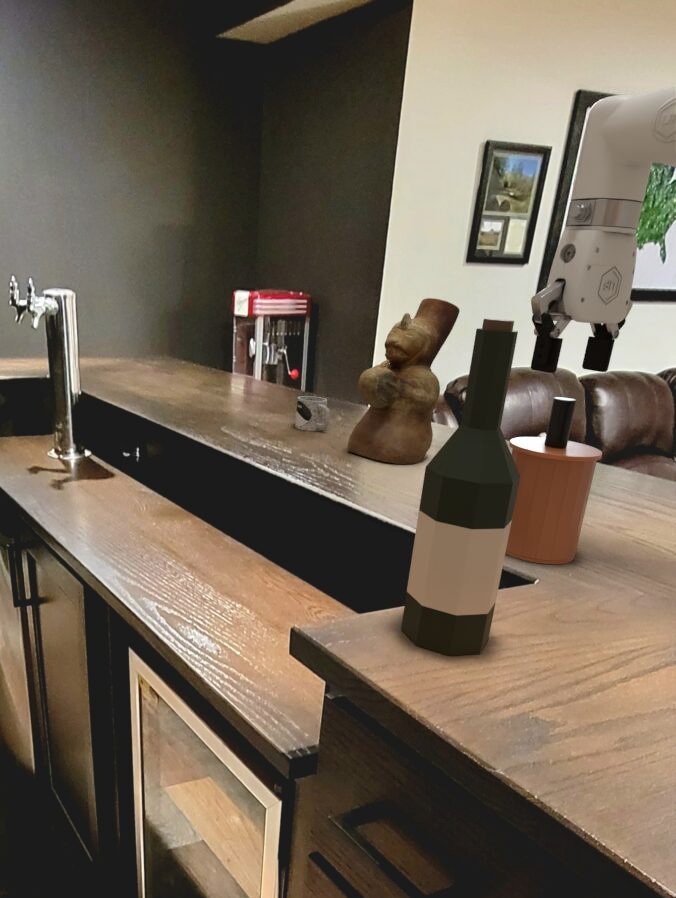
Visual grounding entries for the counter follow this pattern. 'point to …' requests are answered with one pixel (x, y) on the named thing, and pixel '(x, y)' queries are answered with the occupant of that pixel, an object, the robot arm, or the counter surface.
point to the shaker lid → (557, 437)
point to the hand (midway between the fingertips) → (569, 370)
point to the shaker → (548, 508)
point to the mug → (312, 413)
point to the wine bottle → (466, 512)
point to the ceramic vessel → (404, 388)
